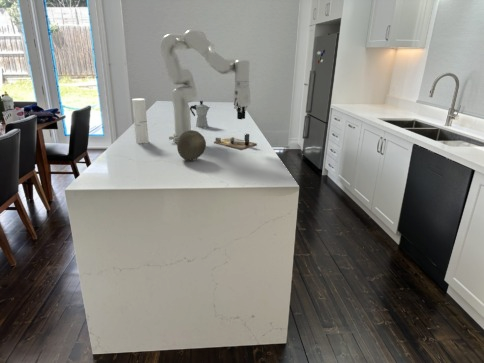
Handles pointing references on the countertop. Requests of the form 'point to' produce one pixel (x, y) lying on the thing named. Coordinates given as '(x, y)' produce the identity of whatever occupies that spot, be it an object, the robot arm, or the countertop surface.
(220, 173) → the countertop surface
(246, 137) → the swing bar
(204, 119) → the coffee maker
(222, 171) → the countertop surface
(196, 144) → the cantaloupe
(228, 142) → the plate
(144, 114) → the cylindrical container
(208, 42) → the robot arm
